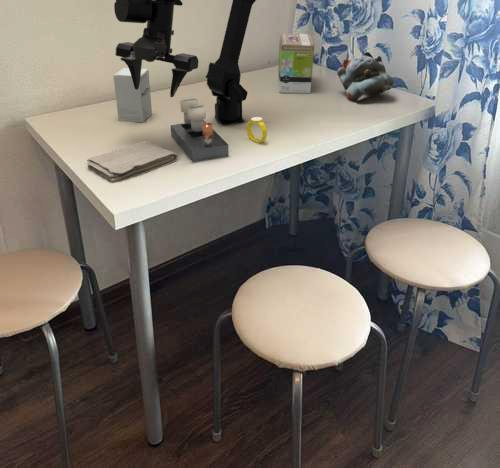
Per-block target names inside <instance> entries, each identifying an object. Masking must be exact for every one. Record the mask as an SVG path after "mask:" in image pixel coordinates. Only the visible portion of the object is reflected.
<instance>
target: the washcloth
mask: <svg viewBox="0 0 500 468" xmlns="http://www.w3.org/2000/svg"><path fill="white" fill-rule="evenodd" d="M177 159H178V154H177V153H175V152H173V151H171V150H168V149H166V148H162V147H160V146H159V145H157V144H155V143H153V142H151V141H148V140H144V141H141V142H137V143H135V144H131V145H125V146H122V147H120V148H117V149H114V150H111V151H108V152H105V153H102V154H98V155H95V156H91V157H89V158H88V159H87V162H86V164H87V168H90V170H91V171H92V172H94V173H95V174H97V175H98V176H101V177H102V178H104V179H105V180H107V181H109V182H111V183H113V182H121V181H124V180H127V179H131V178H134V177H136V176H139V175H142V174H145V173H147V172H150V171H153V170H155V169H158V168H161V167H164V166H166V165H169V164H173V162H175V161H176V160H177Z"/></svg>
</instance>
